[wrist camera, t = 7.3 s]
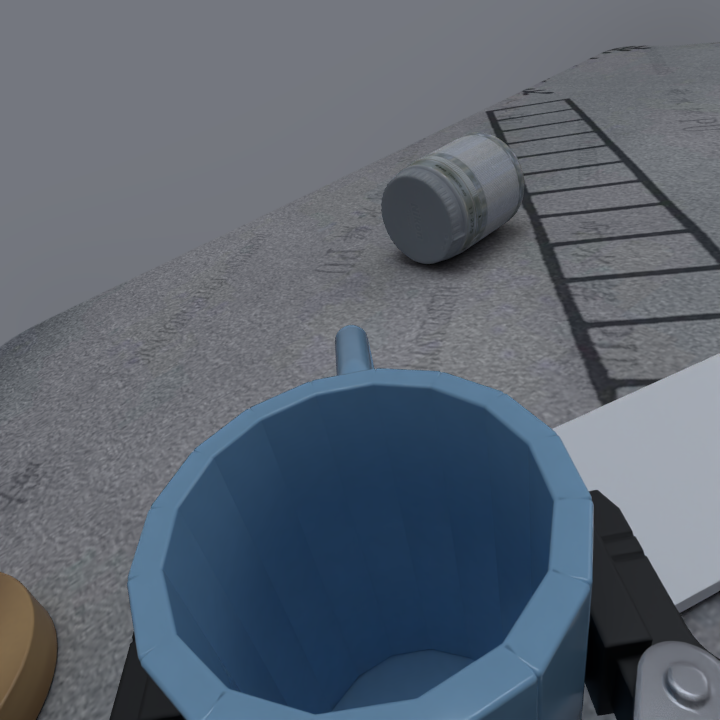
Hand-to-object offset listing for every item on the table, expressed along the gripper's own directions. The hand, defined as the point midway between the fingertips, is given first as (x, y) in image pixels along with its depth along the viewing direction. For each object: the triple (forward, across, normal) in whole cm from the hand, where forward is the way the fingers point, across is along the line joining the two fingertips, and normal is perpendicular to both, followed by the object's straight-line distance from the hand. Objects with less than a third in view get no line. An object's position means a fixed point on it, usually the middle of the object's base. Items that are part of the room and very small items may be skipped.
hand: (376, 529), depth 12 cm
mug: (0, 0, +7) cm, 7 cm away
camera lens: (+24, -4, +3) cm, 25 cm away
